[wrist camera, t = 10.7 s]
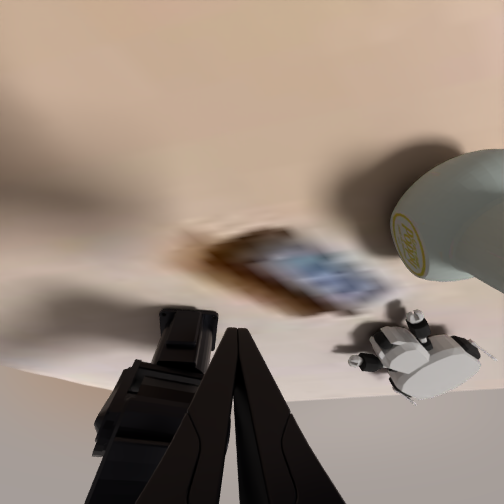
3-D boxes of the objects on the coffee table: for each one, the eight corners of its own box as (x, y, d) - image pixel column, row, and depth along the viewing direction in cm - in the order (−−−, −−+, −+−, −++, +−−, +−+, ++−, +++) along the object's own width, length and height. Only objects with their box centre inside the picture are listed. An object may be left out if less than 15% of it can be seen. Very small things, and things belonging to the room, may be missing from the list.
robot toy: (334, 346, 30) (401, 380, 34) (347, 376, 26) (421, 412, 30) (403, 289, 26) (471, 336, 29) (431, 316, 22) (506, 366, 25)
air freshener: (374, 182, 18) (504, 224, 9) (475, 129, 16) (748, 117, 8) (395, 270, 23) (493, 352, 14) (475, 235, 21) (641, 303, 13)
